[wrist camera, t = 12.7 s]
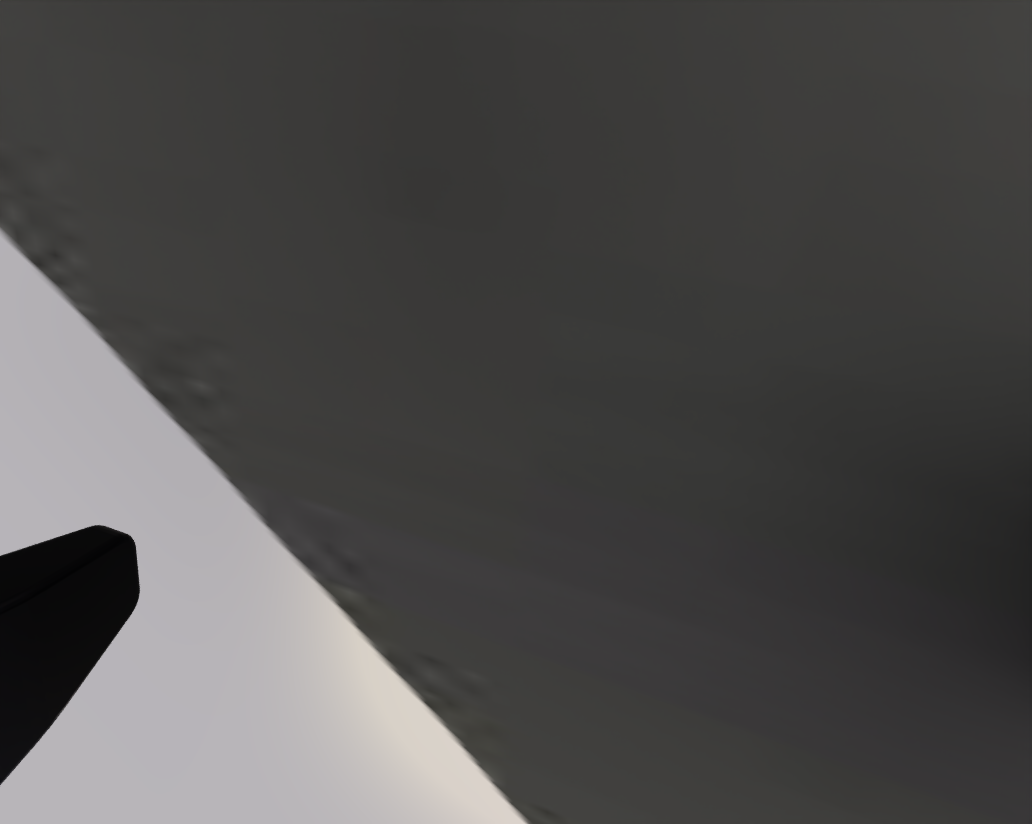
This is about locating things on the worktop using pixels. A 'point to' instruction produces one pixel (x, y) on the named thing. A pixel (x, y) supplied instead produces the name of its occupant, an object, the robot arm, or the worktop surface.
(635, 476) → the worktop surface
